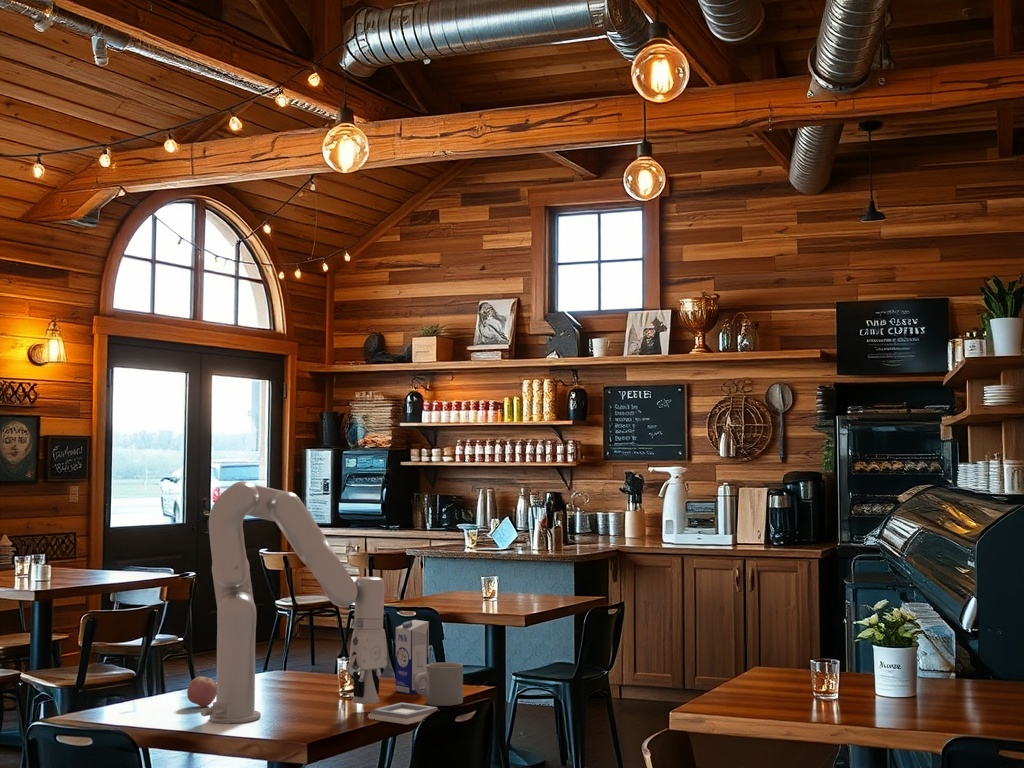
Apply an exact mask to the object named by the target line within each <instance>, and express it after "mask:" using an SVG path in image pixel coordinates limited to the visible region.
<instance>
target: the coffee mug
mask: <svg viewBox="0 0 1024 768" xmlns="http://www.w3.org/2000/svg"><path fill="white" fill-rule="evenodd" d="M463 672H464V664H463V663H459V662H452V661H451V662H449V661H448V662H447V661H446V662H443V661H442V662H431V663H429V664H427V665H426V672H424V673H419V674H418V675H417V676H416V677H415V680H414V688H415V691H416V692H417V694H418V695H420V696H422V697H424V698H426V704H427V705H430V706H436V707H437V706H441V707H442V706H443V707H445V706H447V707H448V706H449V707H450V706H455V705H456V706H458V705H461V704H462V703H463V702H464V673H463ZM422 678H425V679H426V687H425V689H424V690H421V689H420V687H419V682H420V680H421V679H422Z"/></svg>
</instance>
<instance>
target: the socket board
mask: <svg viewBox="0 0 1024 768" xmlns="http://www.w3.org/2000/svg"><path fill="white" fill-rule="evenodd" d="M436 710H438V707H437V706H432V705H430V706H429V705H421V704H416V703H407V702H398V703H394V704H390V705H385V706H382V707H377V708H373V709H370V713H367V719H368V718H369V719H368V720H374V719H375V721H381V722H389V723H395V724H402V725H410V724H415V723H420V722H422V719H423V718H424V717H425V716H427V715H428V714H430V713H431V712H433V711H436ZM438 711H439V710H438Z"/></svg>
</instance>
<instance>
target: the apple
mask: <svg viewBox="0 0 1024 768" xmlns="http://www.w3.org/2000/svg"><path fill="white" fill-rule="evenodd" d="M216 690H217V681H216V680H214V679H212V678H209V677H207V676H196V677H195V678H193V679H192V680H191V681H190V683H189V684H188V688H187V691H186V694H187V699H188V701H190V703H192V704H195V705H196V706H197V705H198V706H200V708H201V707H202V708H208V706H209V705H211V704H213V701H215V699H216Z"/></svg>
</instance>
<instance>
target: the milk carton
mask: <svg viewBox="0 0 1024 768" xmlns="http://www.w3.org/2000/svg"><path fill="white" fill-rule="evenodd" d="M429 623H430V621H425V620H419V619H412V620H408V621H404V622H403V623H401V625H398V626H396V627H395V692H396V691H397V693H401V694H405V693H406V694H407V695H416V694H418V693H417V692H416V691H415V688H414V680H415V677H416V676H417V675H418V674H419V673H424V672H426V665H427V664H430V662H429V655H430V654H429V653H430V649H429V647H430V646H429V645H430V643H429V638H430V637H429V635H430V634H429V633H430V631H429V625H430V624H429ZM419 687H420V689H421V690H424V689H425V687H426V679H425V678H422V679H421V680H420V682H419Z"/></svg>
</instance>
